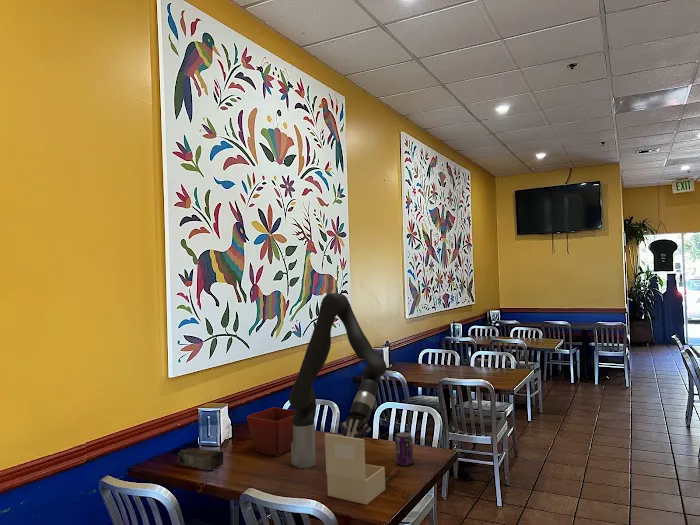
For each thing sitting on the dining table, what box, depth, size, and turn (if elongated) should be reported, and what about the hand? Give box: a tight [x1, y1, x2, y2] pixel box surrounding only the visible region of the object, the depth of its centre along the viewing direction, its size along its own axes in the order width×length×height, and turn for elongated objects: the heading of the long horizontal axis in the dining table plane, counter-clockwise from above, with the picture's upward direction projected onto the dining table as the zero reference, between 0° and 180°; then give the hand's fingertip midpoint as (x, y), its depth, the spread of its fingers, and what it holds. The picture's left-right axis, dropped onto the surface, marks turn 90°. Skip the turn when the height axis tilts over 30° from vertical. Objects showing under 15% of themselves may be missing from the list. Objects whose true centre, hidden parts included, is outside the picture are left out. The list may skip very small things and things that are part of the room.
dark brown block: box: [177, 447, 224, 471], centre depth 215 cm, size 8×19×7 cm, turn 65°
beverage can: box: [394, 431, 414, 467], centre depth 210 cm, size 7×7×12 cm
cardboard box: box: [326, 463, 386, 505], centre depth 182 cm, size 16×14×8 cm
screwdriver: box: [385, 467, 401, 483], centre depth 194 cm, size 16×1×2 cm, turn 152°
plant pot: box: [246, 406, 296, 456], centre depth 232 cm, size 19×19×17 cm
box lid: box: [324, 433, 366, 481], centre depth 177 cm, size 16×14×1 cm
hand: (347, 449), depth 177 cm, fingers closed
